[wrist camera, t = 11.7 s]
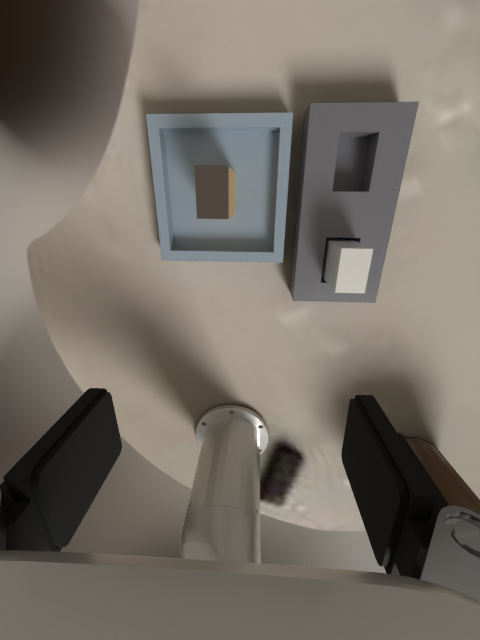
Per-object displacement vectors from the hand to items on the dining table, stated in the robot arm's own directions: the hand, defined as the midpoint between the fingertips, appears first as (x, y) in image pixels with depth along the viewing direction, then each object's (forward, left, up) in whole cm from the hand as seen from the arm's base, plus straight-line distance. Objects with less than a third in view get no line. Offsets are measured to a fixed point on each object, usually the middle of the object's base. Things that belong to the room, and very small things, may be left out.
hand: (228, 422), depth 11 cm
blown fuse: (+8, +3, -28) cm, 29 cm away
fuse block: (+6, -11, -28) cm, 31 cm away
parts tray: (+8, +3, -28) cm, 30 cm away
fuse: (+1, -11, -28) cm, 30 cm away
